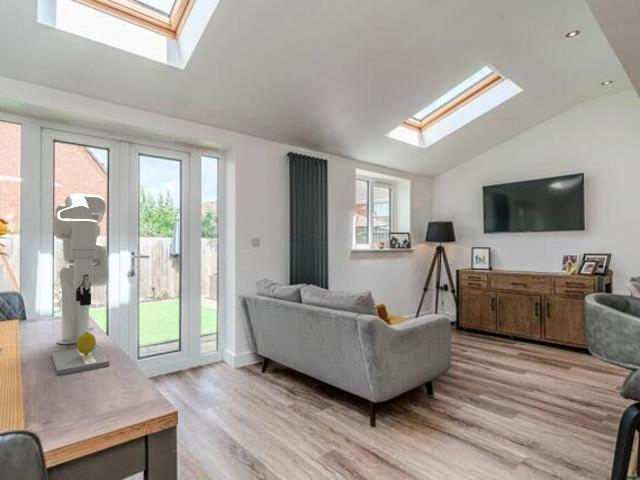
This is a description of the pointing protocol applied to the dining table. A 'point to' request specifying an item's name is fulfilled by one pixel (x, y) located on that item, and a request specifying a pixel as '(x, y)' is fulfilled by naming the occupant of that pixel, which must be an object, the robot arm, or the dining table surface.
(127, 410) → the dining table surface
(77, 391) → the dining table surface
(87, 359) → the strip
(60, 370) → the panel
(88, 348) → the lemon
